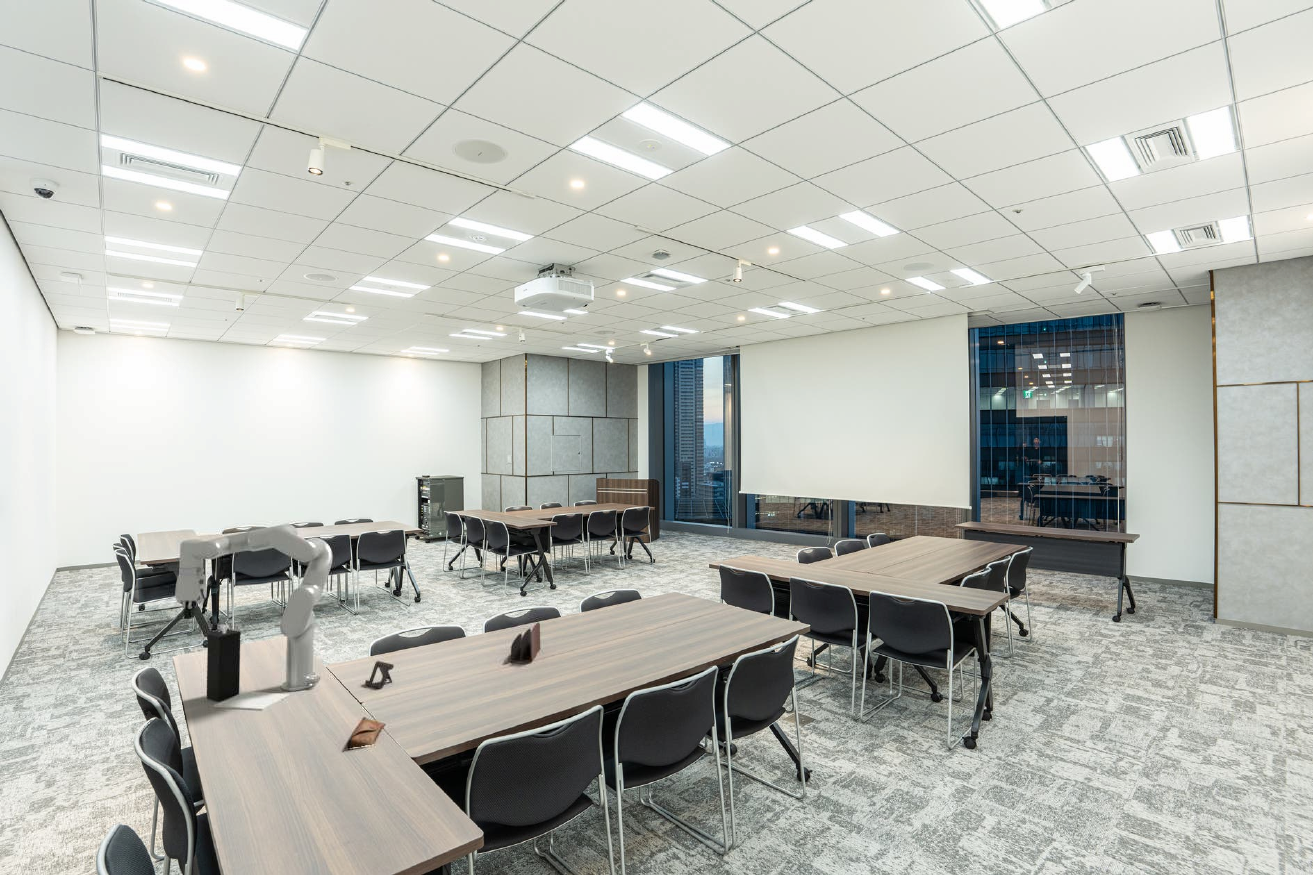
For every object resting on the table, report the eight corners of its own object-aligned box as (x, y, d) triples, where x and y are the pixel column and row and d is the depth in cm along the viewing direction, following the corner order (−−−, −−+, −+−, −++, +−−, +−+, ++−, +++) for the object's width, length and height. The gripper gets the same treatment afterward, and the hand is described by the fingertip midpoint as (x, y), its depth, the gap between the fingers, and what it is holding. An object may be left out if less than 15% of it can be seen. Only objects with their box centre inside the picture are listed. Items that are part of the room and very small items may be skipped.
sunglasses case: (375, 746, 198) (364, 729, 198) (354, 759, 197) (343, 742, 196) (386, 723, 216) (376, 707, 215) (367, 735, 214) (357, 719, 214)
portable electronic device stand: (364, 685, 251) (365, 665, 251) (381, 679, 258) (381, 659, 258) (379, 689, 247) (379, 668, 247) (395, 683, 254) (396, 662, 254)
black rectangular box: (239, 694, 241) (241, 623, 242) (218, 702, 234) (219, 628, 235) (227, 691, 244) (228, 620, 245) (205, 698, 237) (207, 625, 238)
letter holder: (540, 649, 298) (540, 620, 299) (532, 663, 279) (532, 631, 279) (520, 649, 299) (520, 620, 299) (510, 663, 279) (510, 631, 279)
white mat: (290, 695, 241) (290, 694, 241) (262, 710, 227) (262, 708, 227) (244, 692, 243) (244, 691, 243) (214, 706, 230) (214, 705, 230)
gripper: (216, 570, 245) (214, 616, 245) (183, 568, 247) (181, 614, 247) (199, 573, 238) (197, 621, 237) (165, 572, 240) (163, 619, 239)
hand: (189, 617), depth 242 cm, fingers closed
